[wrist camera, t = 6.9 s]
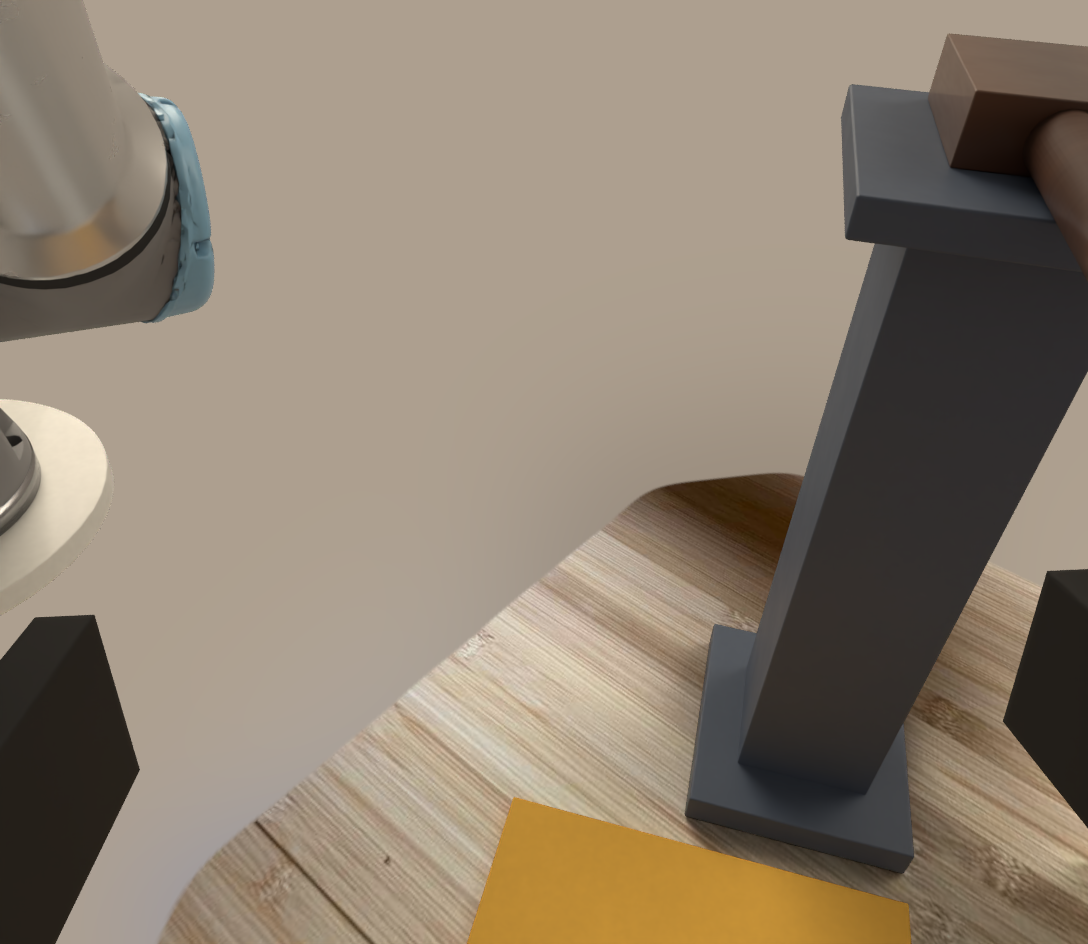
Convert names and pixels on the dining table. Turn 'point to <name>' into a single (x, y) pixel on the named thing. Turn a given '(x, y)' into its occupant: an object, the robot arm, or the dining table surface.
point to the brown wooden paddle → (1020, 120)
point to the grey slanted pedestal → (894, 489)
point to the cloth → (658, 892)
